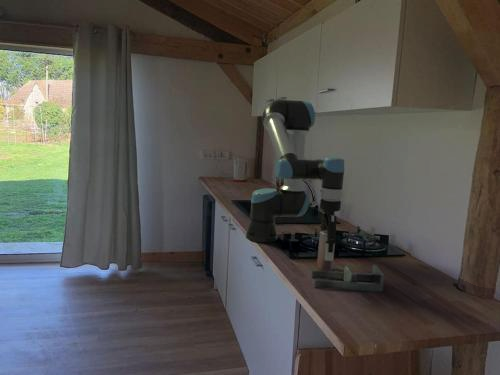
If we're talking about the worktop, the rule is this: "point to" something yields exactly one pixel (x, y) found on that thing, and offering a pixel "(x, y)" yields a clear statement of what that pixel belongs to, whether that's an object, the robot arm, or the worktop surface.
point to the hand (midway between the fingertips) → (326, 254)
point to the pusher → (349, 275)
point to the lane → (375, 277)
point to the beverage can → (323, 254)
